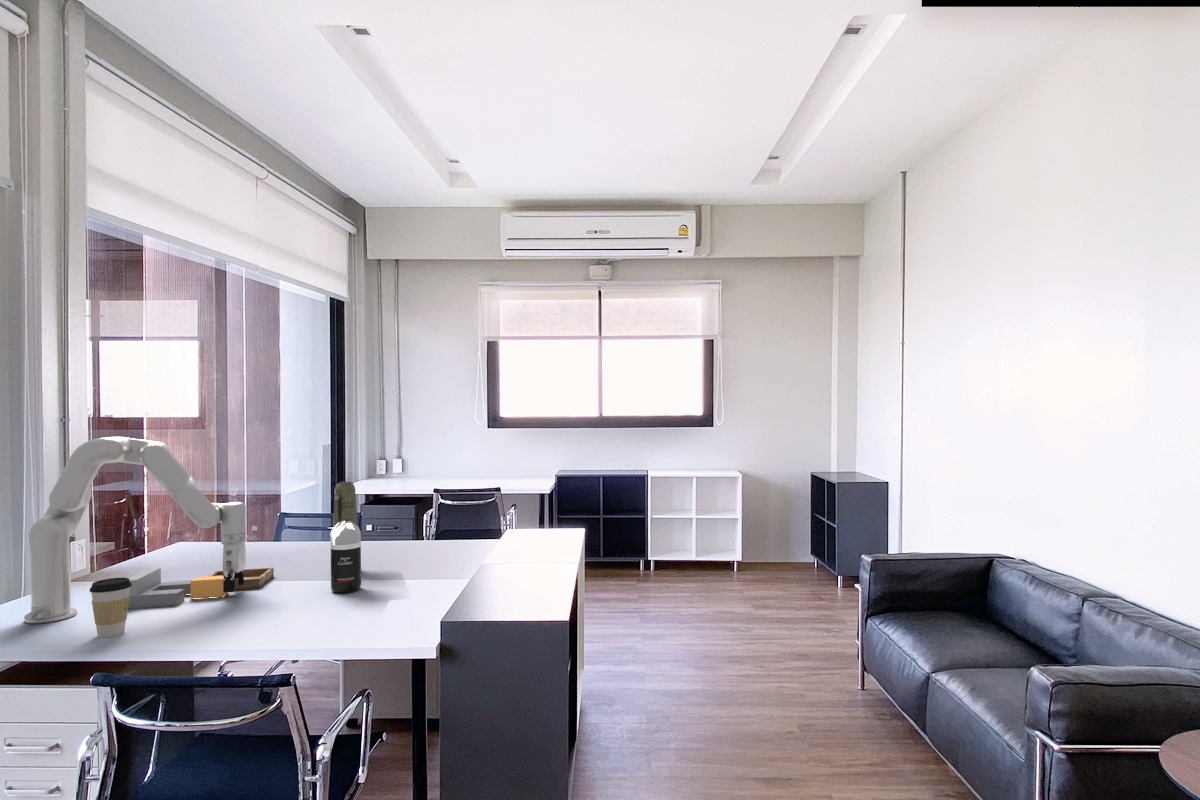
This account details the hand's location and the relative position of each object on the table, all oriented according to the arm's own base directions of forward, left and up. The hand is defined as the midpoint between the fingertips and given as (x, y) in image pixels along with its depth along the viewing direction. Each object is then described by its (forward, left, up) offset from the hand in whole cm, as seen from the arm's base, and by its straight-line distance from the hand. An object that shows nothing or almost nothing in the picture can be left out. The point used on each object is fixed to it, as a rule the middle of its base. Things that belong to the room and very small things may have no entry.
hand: (233, 588), depth 232 cm
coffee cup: (-37, +21, -2) cm, 42 cm away
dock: (0, +22, -2) cm, 22 cm away
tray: (+16, +4, -2) cm, 17 cm away
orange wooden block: (0, +6, -2) cm, 6 cm away
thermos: (+26, -32, -2) cm, 42 cm away
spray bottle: (-4, -37, -2) cm, 38 cm away
